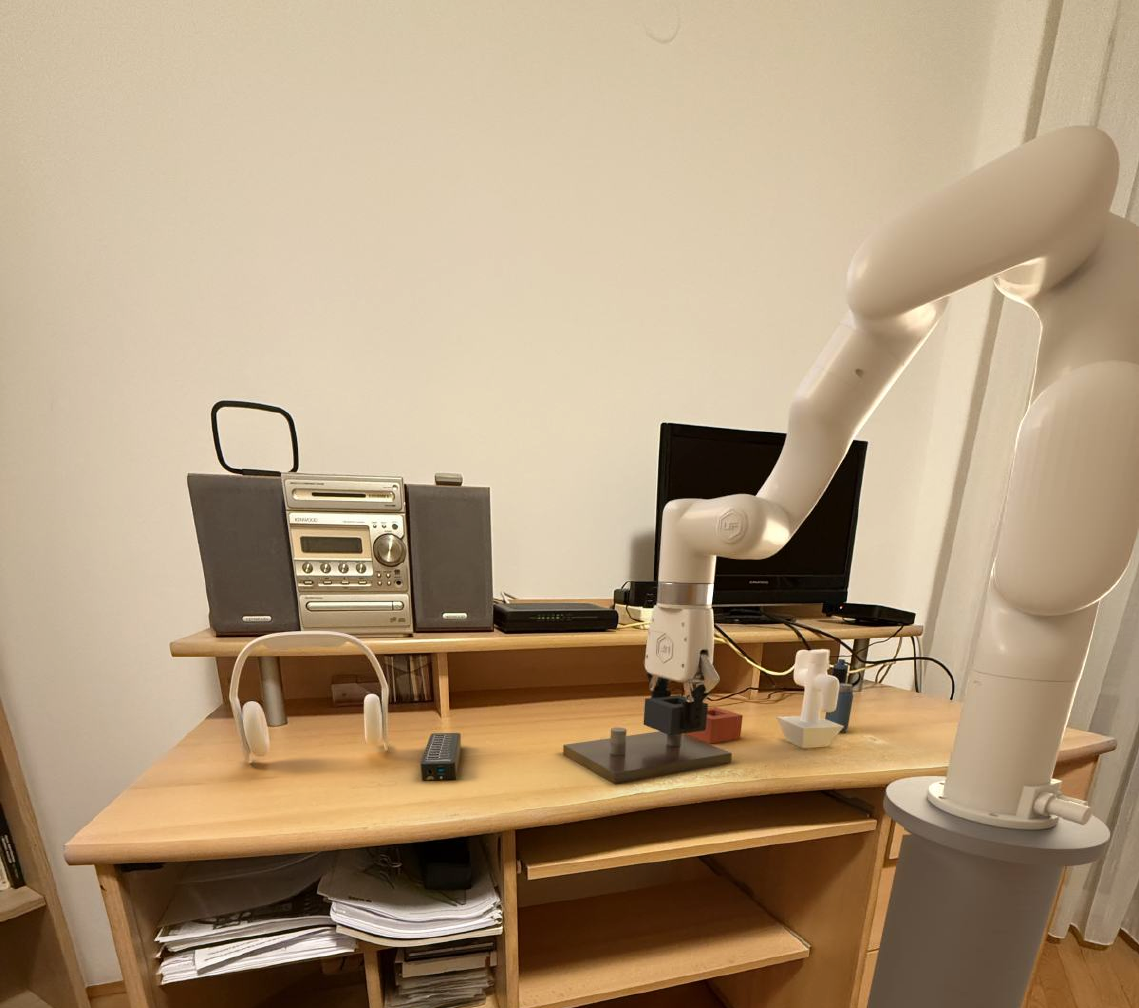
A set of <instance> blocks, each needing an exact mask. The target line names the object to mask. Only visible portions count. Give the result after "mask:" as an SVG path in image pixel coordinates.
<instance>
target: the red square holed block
mask: <svg viewBox="0 0 1139 1008" xmlns="http://www.w3.org/2000/svg"><path fill="white" fill-rule="evenodd" d="M743 717H744V716H743V714H740V713H737V712H733V711H731V710H727V709H725V708H721V707H718V706H712V707H708V710H707V721H706V730H705V731H698V732H691V733H684V735H687V736H689V737H692V738H694V739H697V740H700V741H702V742H705V743H707V744H710V745H712V744H716V743H717V744H718V743H722V742H729V741H735V740H740V739H741V734H742V725H743Z"/></svg>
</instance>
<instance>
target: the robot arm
mask: <svg viewBox="0 0 1139 1008" xmlns="http://www.w3.org/2000/svg"><path fill="white" fill-rule="evenodd" d="M1120 167H1121V164H1120V155H1119V151H1118V148H1117V145H1116V143H1115V142H1114V139H1113V138H1112V137H1111V136H1110V135H1109V134H1108V133H1107V132H1105V131H1104V130H1102V129H1100V128H1098V127H1096V126H1090V125H1083V124H1082V125H1081V124H1080V125H1072V126H1071V125H1070V126H1065V127H1061V128H1057V129H1055V130H1052V131H1050V132H1046V133H1043V134H1041V135H1039V136H1037V137H1034V138H1033V139H1031V140H1029V141H1027V142H1024V143H1022V144H1020V145H1018V146H1017V147H1015V148H1013V149H1011V150H1009V151H1008V152H1006V153H1004V154H1002V155H1000V156H998V157H996V158H994V159H993V160H991V161H989V162H987V163H985V164H984V165H982V166H980V167H978V168H977V169H974V170H971V171H970V172H969V173H967V174H965V175H963V176H961V177H959V178H958V179H956V180H953V181H952V182H950V183H948V184H946V185H944V186H942V187H941V188H939V189H937V190H935V191H933V192H931V193H930V194H927V195H926V196H924V197H922V198H920V199H918V200H917V201H915V202H914V203H912V204H910V205H909V206H906V207H905V208H903V209H902V210H900V211H899V212H897V213H896V214H894V215H892V216H891V217H890V218H888V219H887V220H886V221H884V222H883V223H881V224H880V225H879V226H878V227H877V228H876V229H874V230H873V231H872V232H871V233H870V234H869V235H868V236H867V237H866V238H865V240H864V241H863V242H862V243H861V244H860V246H859V247H858V249H857V250H856V252H855V253H854V255H853V257H852V258H851V261H850V264H849V266H848V269H847V271H846V276H845V283H844V292H845V293H844V294H845V298H846V302H847V305H848V307H849V309H848V310H847V312H846V313H845V315H844V316H843V318H842V319H841V321H840V322H839V324H838V326H837V327H836V329H835V330H834V332H833V334H832V335H831V336H830V338H829V340H828V341H827V343H826V344H825V345H824V347H823V349H822V351H821V352H820V354H819V355H818V357H817V358H816V359H815V361H814V362H813V364H812V365H811V367H810V368H809V370H808V371H807V373H806V374H805V375H804V377H803V379H802V380H801V382H800V383H799V384H798V385H797V388H796V389H795V391H794V393H793V395H792V398H791V401H790V405H789V410H788V417H787V430H786V436H785V441H784V445H783V447H782V449H781V453H780V455H779V457H778V459H777V461H776V463H775V465H774V467H773V469H772V471H771V473H770V475H769V476H768V477H767V478H766V480H765V482H764V484H763V485H762V486H761V488H760V489H759V490H758V492H757V494H756V495H753V494H747V493H737V494H731V495H726V496H720V497H716V498H710V499H703V498H677V499H673V500H670V501H668V502H667V503H666V504H665V506H664V508H663V511H662V520H661V535H660V548H659V549H660V550H659V563H658V564H659V565H658V577H657V578H658V583H657V595H656V597H657V598H656V604H653V605H654V606H653V609H652V611H651V617H650V621H649V626H648V631H647V638H646V639H647V640H646V647H645V657H644V659H643V661H642V663H643V667H644V669H645V672H646V676H647V680H648V681H649V690H650V691H651V696H650V698H656V697H665V696H672V690H671V689H669V688H670V685H671V682H672V681H673V682H676V683H682V686H683V690H684V695H685V696H684V697H686V700H687V701H683V704H682V718H681V728H682V729H684V730H686V729H693V728H699V727H700V726H701V716H702V706H703V702H705V701H706V700H707V699H708V696H709V695H710V694H711V693H712V691H713V689H714V688H715V687H716V686H717V685H718V684H719V683H720V676H719V674H718V672H717V671H716V669H715V667H714V665H713V663H714V649H715V626H714V625H715V622H714V609H713V608H712V606H713V605H712V603H713V593H714V585H715V584H714V583H715V574H716V565H717V564H716V563H717V557H721V558H727V559H732V560H733V559H734V560H763V559H767V558H770V557H771V556H774V555H775V554H777V553H778V552H779V551H780V550H782V549H783V548H784V547H785V545H786V544H787V543H788V542H789V541H790V540H791V538H792V537H793V536H794V534H796V532H797V531H798V530H799V528H800V527H801V525H802V524H803V522H804V521H805V520H806V518H807V517H808V516H809V515H810V514H811V512H812V511H813V510H814V508H815V506H817V504H818V503H819V500H820V499H821V498H822V496H823V495H824V493H825V492H826V490H827V488H828V486H829V484H830V483H831V481H832V480H833V478H834V476H835V474H836V472H837V470H838V469H839V467H840V465H841V464H842V462H843V460H844V459H845V458H846V455H847V454H848V452H849V449H850V447H851V445H852V443H853V441H854V438H855V437H856V436H857V434H859V432H860V430H861V429H862V428H863V426H864V424H865V423H866V422H867V420H868V419H869V418H870V417H871V415H872V413H873V412H874V411H875V410H876V408H877V407H878V405H879V404H880V402H881V401H882V400H883V398H884V397H885V396H886V394H887V393H888V392H889V390H890V389H891V388H892V386H893V385H894V384H895V383H896V381H897V379H899V377H900V375H901V374H902V373H903V371H904V370H905V369H906V367H907V365H909V364H910V363H911V361H912V359H913V358H914V357H915V355H916V354H917V353H918V351H919V349H920V348H921V347H922V346H923V344H924V343H925V342H926V340H927V339H928V338H929V336H930V335H931V333H932V332H933V331H934V329H935V328H936V326H937V324H938V323H939V322H940V320H941V319H942V317H943V315H944V313H945V311H946V309H947V306H948V304H949V301H950V298H951V295H953V294H956V293H958V292H960V291H962V290H964V289H967V288H969V287H971V286H974V285H976V284H978V283H981V282H983V281H985V280H989V279H990V278H991V280H992V282H993V284H994V286H995V287H996V288H997V290H998V291H999V292H1000V293H1002V295H1003V296H1005V297H1007V298H1009V299H1011V300H1013V301H1015V302H1018V303H1020V304H1023V305H1025V306H1027V307H1029V308H1030V309H1031V310H1032V311H1033V312H1034V313H1035V314H1036V315H1037V316H1036V317H1037V318H1038V321H1039V325H1040V333H1039V341H1038V346H1037V352H1036V357H1035V368H1034V375H1033V379H1032V380H1033V381H1032V386H1031V391H1030V397H1029V402H1028V407H1027V411H1026V412H1025V414H1024V416H1023V418H1022V420H1021V422H1020V425H1019V428H1018V431H1017V435H1016V439H1015V440H1016V441H1015V449H1014V454H1013V462H1012V466H1011V472H1010V478H1009V483H1008V488H1007V489H1008V490H1007V496H1006V501H1005V506H1004V512H1003V517H1002V523H1001V529H1000V534H999V539H998V545H997V550H996V555H995V557H994V561H993V563H992V568H991V573H990V577H989V583H988V588H987V594H986V599H985V604H984V609H983V612H982V618H981V623H980V627H979V632H978V635H977V640H976V645H975V649H974V653H973V658H972V661H971V666H970V670H969V674H968V678H967V682H966V686H965V692H964V697H963V701H962V705H961V708H960V709H961V710H960V713H959V718H958V722H957V727H956V732H955V735H954V740H953V745H952V749H951V753H950V757H949V762H948V767H947V771H946V779H945V781H941V782H937V783H933V784H932V785H930V786H929V787H928V790H927V798H928V800H929V801H930V802H931V803H932V804H933V805H934V806H936V807H937V808H939V809H941V810H943V811H945V812H947V813H949V814H952V815H955V816H957V817H960V818H963V819H966V820H969V821H973V822H977V823H981V824H985V825H990V826H995V827H1002V828H1008V829H1019V830H1040V829H1046V828H1051V827H1053V826H1055V825H1056V824H1057V823H1058V821H1059V817H1062V819H1065V820H1068V821H1071V822H1074V823H1078V824H1081V825H1085V824H1086V823H1087V822H1088V821H1089V819H1090V817H1091V814H1092V815H1093V808H1092V807H1091V806H1089V802H1088V801H1087V800H1082V799H1079V798H1075V797H1070V796H1066V795H1064V794H1063V792H1062V791H1060V790H1061V788H1062V787H1061V786H1062V783H1063V781H1062V780H1059V779H1055V778H1053V775H1054V771H1055V768H1056V764H1057V761H1058V757H1059V753H1060V750H1061V746H1062V743H1063V739H1064V736H1065V732H1066V729H1067V725H1068V723H1069V719H1070V716H1071V711H1072V708H1073V705H1074V701H1075V698H1076V694H1077V691H1078V687H1079V684H1080V680H1081V679H1082V676H1083V672H1084V668H1085V665H1086V662H1087V657H1088V655H1089V651H1090V645H1091V642H1092V638H1093V634H1094V630H1095V626H1096V622H1097V617H1098V614H1099V613H1098V612H1099V608H1100V604H1101V600H1102V598H1104V597H1105V596H1106V595H1108V594H1109V593H1110V592H1111V591H1112V590H1113V589H1114V588H1115V587H1116V585H1117V584H1118V583H1119V582H1120V580H1121V579H1122V578H1123V576H1124V574H1125V573H1126V571H1127V569H1128V567H1129V565H1130V562H1131V559H1132V556H1133V554H1134V549H1135V546H1136V542H1137V539H1138V535H1139V226H1138V225H1137V224H1136V223H1134V222H1133V221H1131V220H1129V219H1127V218H1125V217H1122V216H1120V215H1117V214H1116V213H1114V212H1111V211H1110V209H1111V206H1112V203H1113V200H1114V197H1115V195H1116V191H1117V187H1118V183H1119V176H1120ZM693 685H695V688H693Z"/></svg>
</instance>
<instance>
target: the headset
mask: <svg viewBox="0 0 1139 1008" xmlns="http://www.w3.org/2000/svg"><path fill="white" fill-rule="evenodd" d="M347 643H350V644H351V645H354V646H356V647H357V648H358V649H360V650H361V651H362V652H363V653H364V654H365V656H366V657H367V658H368V660H369V661H370V663H371V665H372V667H373V669H374V671H375V673H376V676H377V678H378V681H379V683H380V686H381V699H380V697H379V696H378V695H377V694H375V693H369V694H367V695H366V696H365V697H364V700H363V723H364V726H363V727H364V739H365V743H366V744H367V745H368V746H370V747H377V746H379V745H380V744H381V741H382V742H383V746H384V750H385V751H389V707H388V706H389V691H390V689H389V684H388V682H387V680H386V677H385V674H384V672H383V669H382V667H381V664H380V663H379V661H378V659H377V657H376V655H375V654H374V652H373V651H372V650H371V649H370V647H369V646H368V645H367V644H366V643H365V642H364V641H362V640H361V639H359V638H357V637H355V636H353V635H351V634H348V633H344V632H339V631H338V632H337V631H328V630H299V631H284V632H275V633H270V634H266V635H262V636H259V637H257V638H255V639H253V640H251V641H250V642H249V643H247V644H246V645H245V646H244V647H243V649H242V650H241V651H240V653H239V654H238V656H237V659H236V661H235V664H234V666H233V670H232V674H231V679H230V687H229V694H228V695H229V696H228V699H229V702H230V706H231V711H232V714H233V715H232V716H233V718H234V722H235V727H236V730H237V734H238V738H239V743H240V747H241V750H242V753H243V758H244V761H245V763H246V764H252V755H251V753H252V754H253V756H256V757H264V756H267V754H269V752H270V749H271V741H270V732H269V727H268V724H267V719H266V715H265V712H264V709H263V708H262V706H261V704H259V703H258V702H257V701H253V700H252V701H247V702H245V703H243V704H244V705H243V706H242V707H241V703H240V699H239V697H238V691H239V684H240V679H241V673H242V670H243V667H244V664H245V661H246V659H247V658H248V656H249V655H250V654H251V652H253V651H254V650H255V649H256V648H258V647H260V646H262V645H263V646H264V648H266V649H267V650H269V651H289V650H297V649H313V648H314V649H316V648H330V649H331V648H332V649H334V648H335V649H337V648H341V647H343V646H345V644H347ZM380 700H381V701H380Z"/></svg>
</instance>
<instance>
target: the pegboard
mask: <svg viewBox="0 0 1139 1008" xmlns="http://www.w3.org/2000/svg"><path fill="white" fill-rule="evenodd" d="M627 732H628V731H627V728H625V727H619V726H617V727H612V728H610V738H603V739H596V740H588V741H582V742H581V741H580V742H574V743H568V744H563V745H562V755H564V756H565V757H567V758H569V759H571V760H572V761H574V762H576V763H577V764H579V765H580V766H582V767H584V768H586V769H588V770H590V771H591V772H592V773H595V774H596V775H598V776H600V777H601V778H603V779H605V780H607V781H609V782H610V783H612V784H613V785H616V784H617V785H618V784H622V783H628V782H632V781H638V780H644V779H649V778H650V779H651V778H655V777H659V776H666V775H669V774H670V775H671V774H676V773H681V772H686V771H687V772H688V771H692V770H693V771H694V770H698V769H704V768H709V767H714V766H719V765H720V766H721V765H725V764H731V763H732V755H733V753H732V752H731V751H728V750H726V749H723V748H720V747H718V746H715V745H712V744H710V743H707V742H704V741H702V740H699V739H697V738H694V737H691V736H689V735H686V734H677V735H668V734H665V733H663V732H660V731H658V730H657V731H654V732H653V731H651V732H644V733H637V734H631V735H627Z"/></svg>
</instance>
